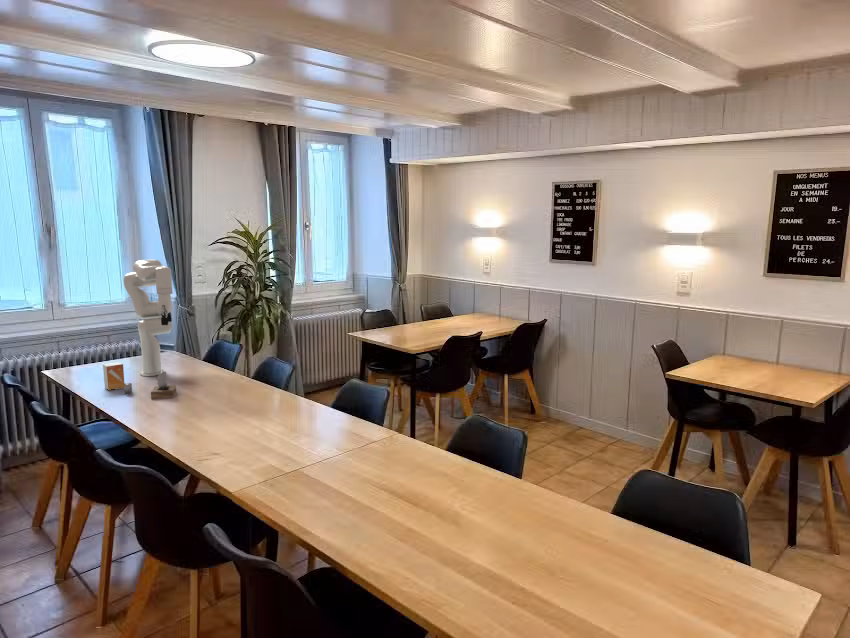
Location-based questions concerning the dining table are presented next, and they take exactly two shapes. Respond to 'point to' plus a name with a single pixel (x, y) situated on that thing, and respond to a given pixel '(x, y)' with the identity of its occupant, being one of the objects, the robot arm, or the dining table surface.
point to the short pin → (128, 388)
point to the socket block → (163, 392)
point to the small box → (113, 375)
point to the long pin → (162, 380)
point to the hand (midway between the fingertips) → (166, 323)
